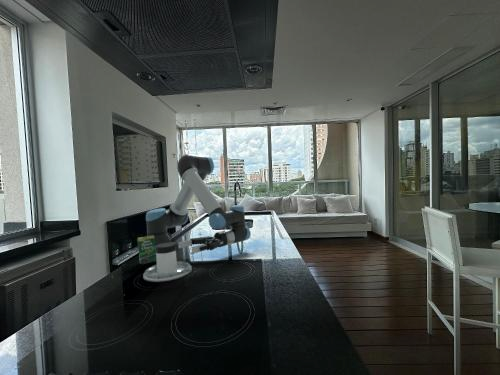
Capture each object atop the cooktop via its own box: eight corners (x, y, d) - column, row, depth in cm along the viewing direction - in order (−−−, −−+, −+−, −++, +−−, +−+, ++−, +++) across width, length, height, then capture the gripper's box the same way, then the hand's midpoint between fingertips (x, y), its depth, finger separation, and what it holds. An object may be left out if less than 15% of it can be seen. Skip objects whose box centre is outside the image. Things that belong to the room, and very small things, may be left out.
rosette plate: (137, 273, 113) (136, 269, 113) (179, 262, 126) (179, 257, 126) (153, 286, 97) (152, 281, 97) (199, 271, 110) (199, 266, 110)
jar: (171, 268, 114) (169, 241, 114) (182, 271, 109) (180, 243, 109) (152, 274, 108) (150, 246, 107) (163, 278, 102) (160, 248, 102)
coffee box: (139, 265, 125) (137, 238, 125) (139, 263, 128) (137, 237, 127) (156, 261, 129) (154, 235, 128) (156, 260, 131) (154, 234, 131)
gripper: (239, 249, 121) (199, 261, 107) (211, 242, 140) (174, 251, 126) (238, 234, 121) (197, 243, 107) (210, 228, 140) (173, 236, 126)
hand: (185, 247), depth 117 cm, fingers open, 13 cm apart
